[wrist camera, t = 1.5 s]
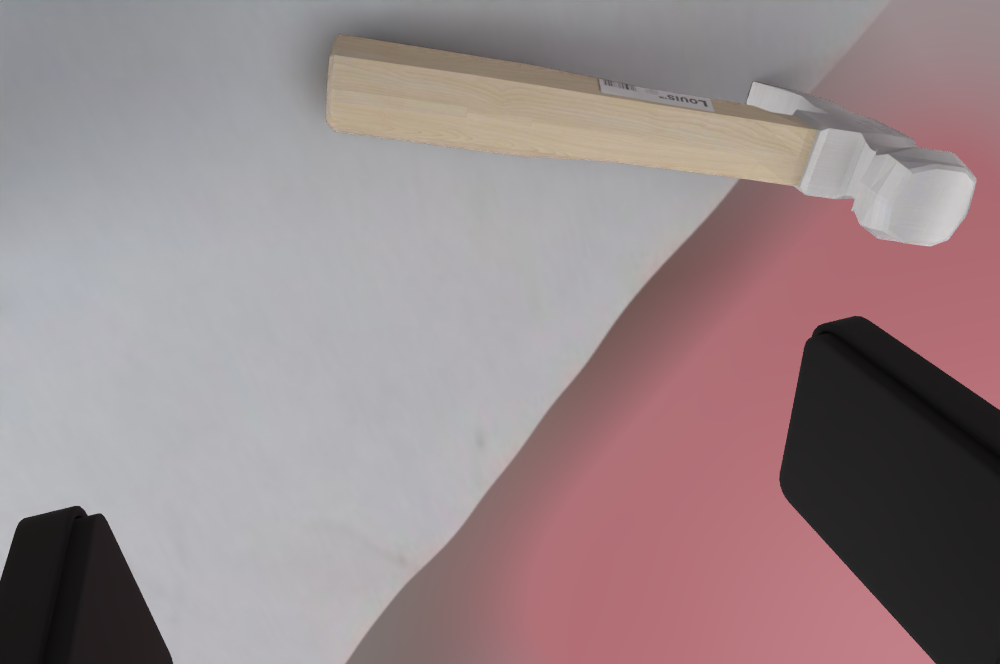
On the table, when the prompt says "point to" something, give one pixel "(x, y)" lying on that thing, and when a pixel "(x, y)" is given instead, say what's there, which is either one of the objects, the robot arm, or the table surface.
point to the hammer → (649, 130)
